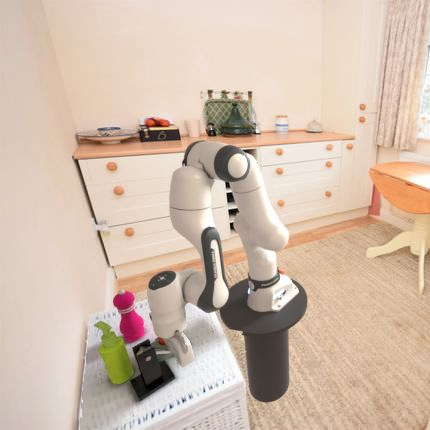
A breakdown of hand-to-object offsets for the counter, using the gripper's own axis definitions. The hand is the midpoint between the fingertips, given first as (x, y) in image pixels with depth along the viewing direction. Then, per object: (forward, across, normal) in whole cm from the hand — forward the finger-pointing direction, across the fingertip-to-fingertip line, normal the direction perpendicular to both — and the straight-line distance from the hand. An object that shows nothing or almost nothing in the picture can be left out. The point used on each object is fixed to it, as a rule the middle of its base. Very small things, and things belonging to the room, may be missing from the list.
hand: (176, 356), depth 92 cm
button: (0, +9, 0) cm, 9 cm away
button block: (+4, +9, 0) cm, 10 cm away
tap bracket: (+4, 0, +7) cm, 8 cm away
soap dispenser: (+4, +9, +14) cm, 17 cm away
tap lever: (-4, 0, +5) cm, 6 cm away
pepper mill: (+4, +23, +6) cm, 24 cm away
